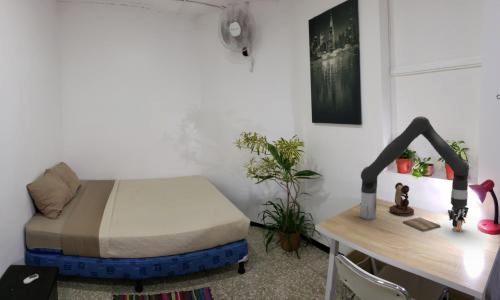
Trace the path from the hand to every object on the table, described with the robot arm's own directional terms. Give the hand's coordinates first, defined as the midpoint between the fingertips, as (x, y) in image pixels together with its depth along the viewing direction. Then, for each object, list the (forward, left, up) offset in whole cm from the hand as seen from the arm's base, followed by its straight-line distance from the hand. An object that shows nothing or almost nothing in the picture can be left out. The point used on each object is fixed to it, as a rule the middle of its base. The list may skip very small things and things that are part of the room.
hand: (457, 225), depth 168 cm
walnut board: (-11, +14, -3) cm, 18 cm away
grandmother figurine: (0, 0, -3) cm, 3 cm away
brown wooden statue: (-5, +34, -3) cm, 34 cm away
